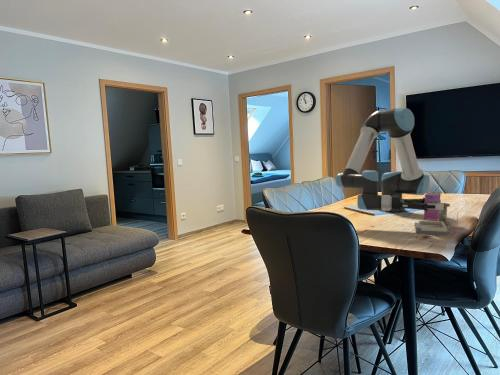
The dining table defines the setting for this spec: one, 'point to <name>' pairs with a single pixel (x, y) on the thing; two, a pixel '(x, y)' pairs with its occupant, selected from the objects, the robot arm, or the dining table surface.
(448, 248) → the dining table surface
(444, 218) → the bobbin
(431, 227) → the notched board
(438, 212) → the box
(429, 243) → the dining table surface
